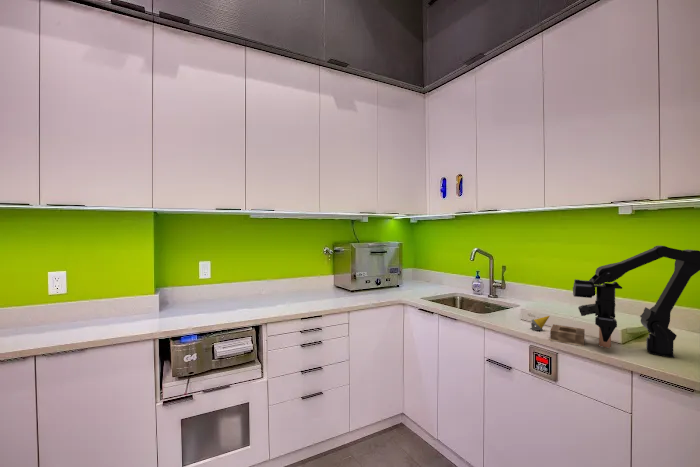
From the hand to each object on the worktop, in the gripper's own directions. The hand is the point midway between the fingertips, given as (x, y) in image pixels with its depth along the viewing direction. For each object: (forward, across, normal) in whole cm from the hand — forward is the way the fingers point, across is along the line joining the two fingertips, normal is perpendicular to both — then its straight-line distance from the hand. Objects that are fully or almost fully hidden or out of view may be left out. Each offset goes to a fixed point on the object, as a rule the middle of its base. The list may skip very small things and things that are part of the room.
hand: (605, 339), depth 126 cm
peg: (+2, 0, 0) cm, 2 cm away
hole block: (+2, 0, -12) cm, 12 cm away
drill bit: (+3, -8, -23) cm, 25 cm away
